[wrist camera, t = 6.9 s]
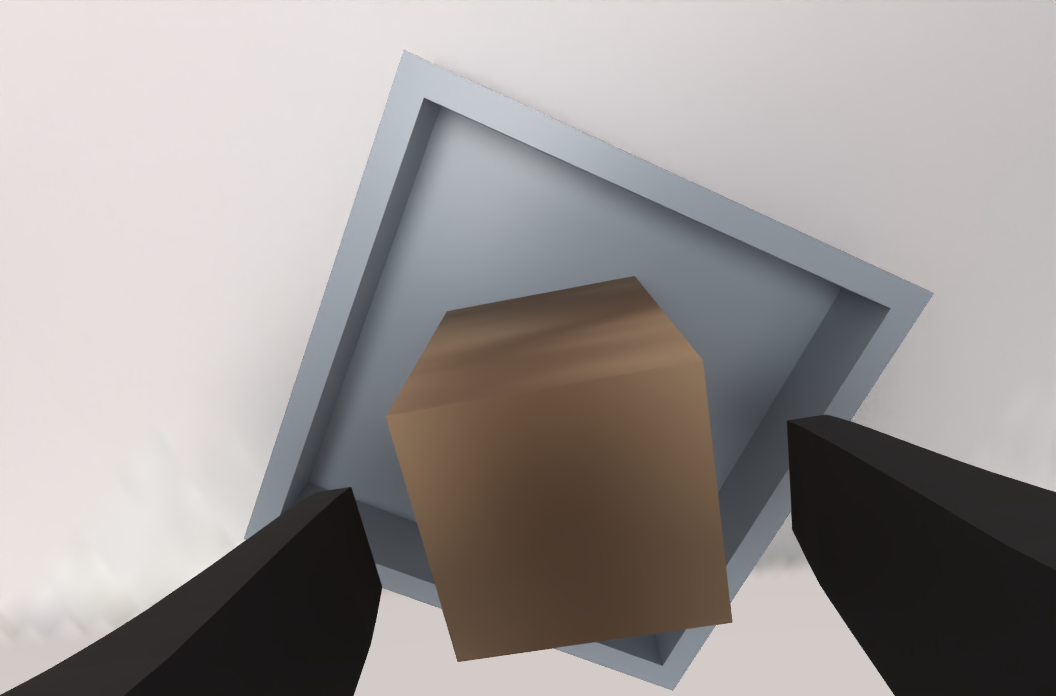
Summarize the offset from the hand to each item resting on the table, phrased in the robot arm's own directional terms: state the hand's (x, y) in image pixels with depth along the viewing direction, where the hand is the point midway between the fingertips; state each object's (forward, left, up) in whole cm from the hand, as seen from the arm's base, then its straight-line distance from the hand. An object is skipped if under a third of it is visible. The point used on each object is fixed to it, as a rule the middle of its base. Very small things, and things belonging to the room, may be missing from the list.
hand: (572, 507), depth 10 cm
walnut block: (0, 0, -5) cm, 5 cm away
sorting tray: (0, 0, -6) cm, 6 cm away
